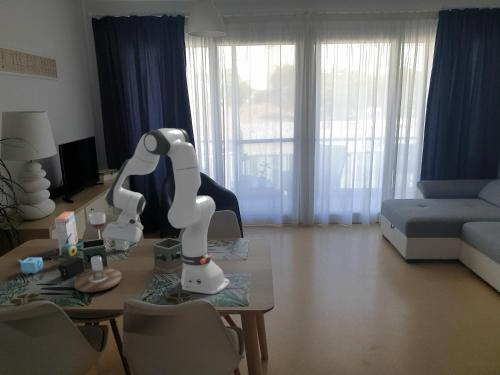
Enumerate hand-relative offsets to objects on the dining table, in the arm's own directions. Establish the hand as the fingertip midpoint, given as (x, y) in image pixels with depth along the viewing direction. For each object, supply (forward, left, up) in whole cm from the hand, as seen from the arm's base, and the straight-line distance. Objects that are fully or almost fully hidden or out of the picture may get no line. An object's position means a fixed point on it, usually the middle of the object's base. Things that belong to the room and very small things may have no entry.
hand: (115, 248), depth 177 cm
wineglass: (+35, -19, -13) cm, 42 cm away
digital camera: (+19, +11, -13) cm, 25 cm away
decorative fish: (+32, +1, -13) cm, 35 cm away
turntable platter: (-2, +12, -11) cm, 17 cm away
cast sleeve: (-2, +12, -10) cm, 16 cm away
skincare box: (+22, -23, -13) cm, 34 cm away
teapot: (+39, +19, -13) cm, 46 cm away
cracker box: (+48, -8, -13) cm, 51 cm away
